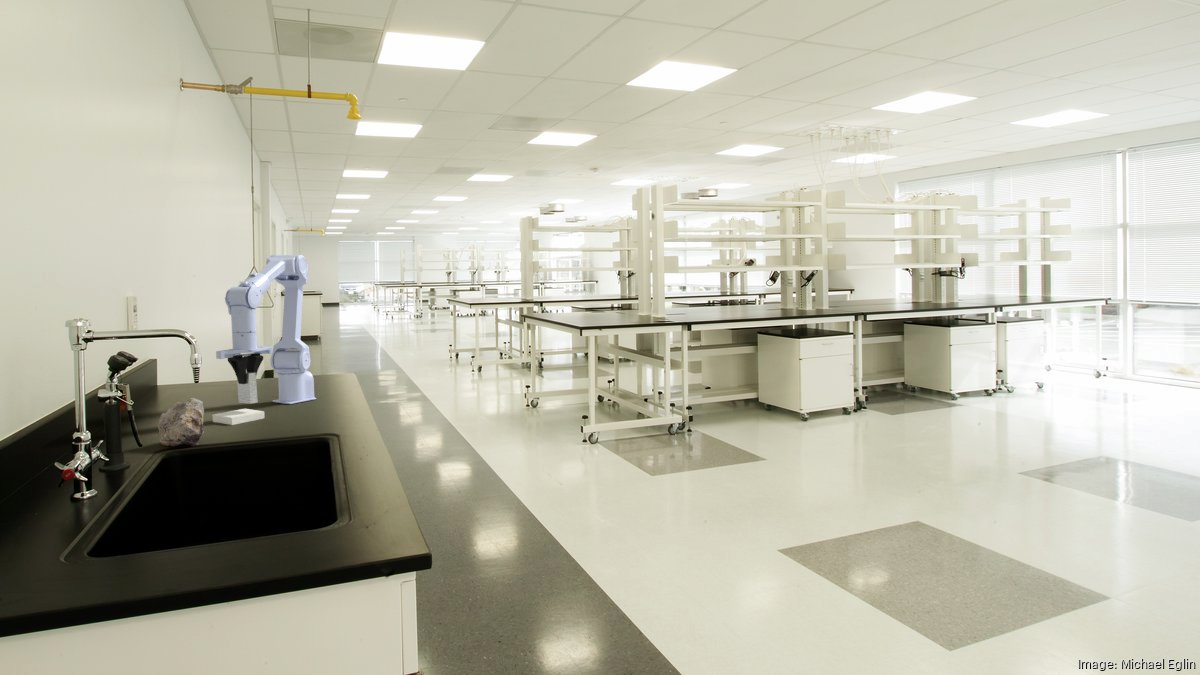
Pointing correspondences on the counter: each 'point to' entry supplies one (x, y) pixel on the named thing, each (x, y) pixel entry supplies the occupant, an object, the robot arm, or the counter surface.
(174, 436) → the rock
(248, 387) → the pale grey upright block
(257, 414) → the tile
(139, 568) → the counter surface
